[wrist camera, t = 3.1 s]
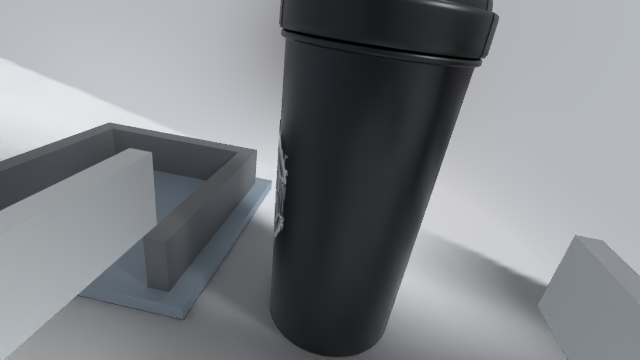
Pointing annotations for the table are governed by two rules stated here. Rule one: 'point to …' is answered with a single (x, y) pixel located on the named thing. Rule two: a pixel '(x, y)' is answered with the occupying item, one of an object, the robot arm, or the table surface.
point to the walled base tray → (171, 209)
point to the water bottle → (362, 154)
